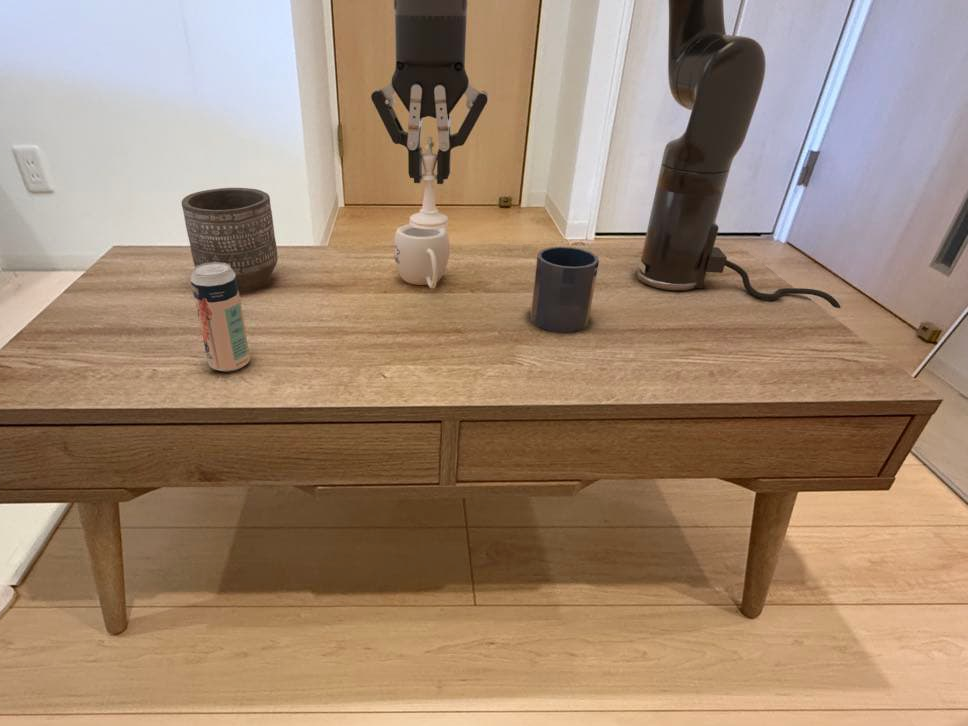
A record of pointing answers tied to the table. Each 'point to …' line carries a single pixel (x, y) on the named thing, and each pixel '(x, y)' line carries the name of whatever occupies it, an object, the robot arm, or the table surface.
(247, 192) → the planter
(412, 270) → the mug
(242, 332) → the beer can
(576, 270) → the slate cup
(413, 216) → the chess piece
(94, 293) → the table surface
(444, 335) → the table surface
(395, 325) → the table surface
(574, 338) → the table surface
